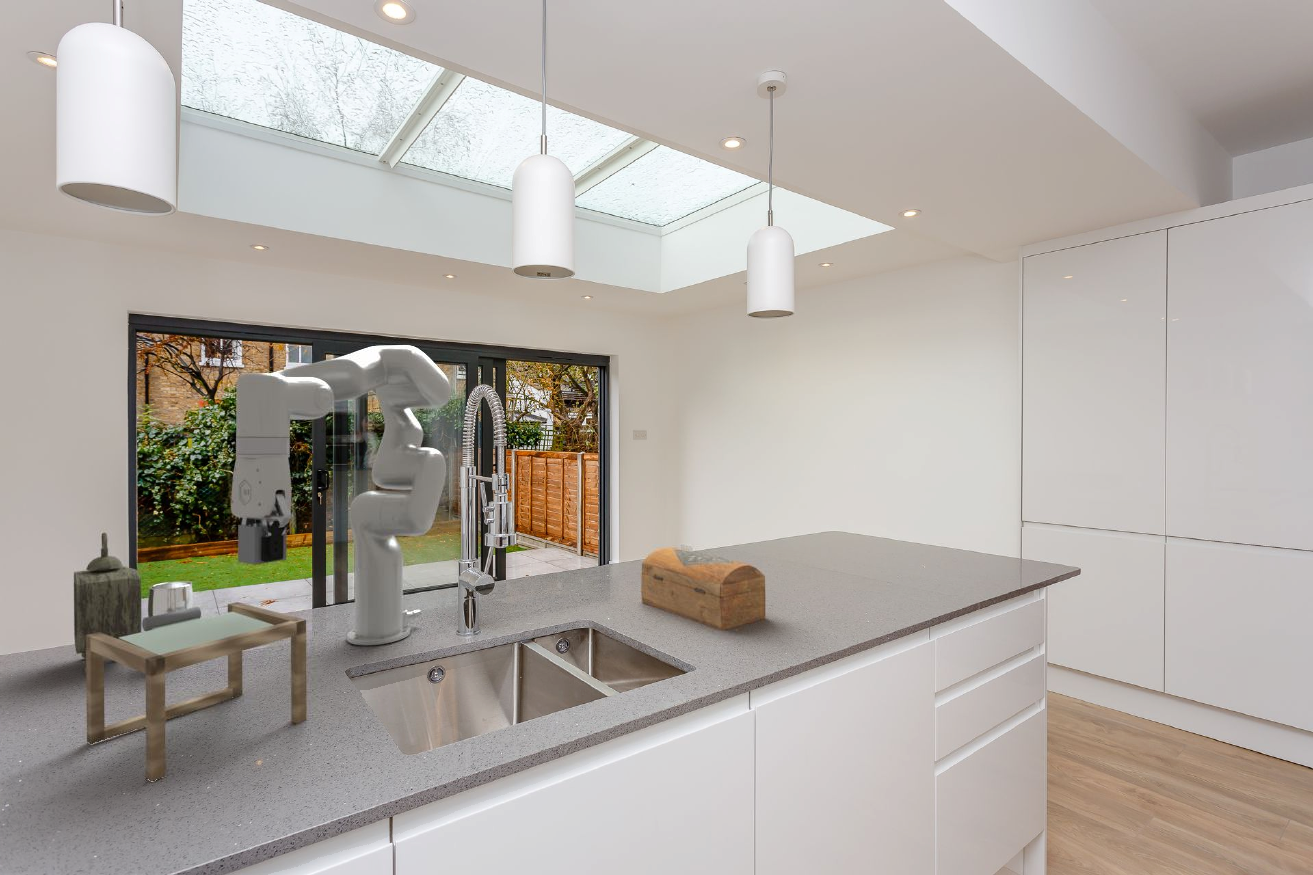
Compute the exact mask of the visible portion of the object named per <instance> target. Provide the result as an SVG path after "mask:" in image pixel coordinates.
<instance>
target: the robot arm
mask: <svg viewBox="0 0 1313 875" xmlns="http://www.w3.org/2000/svg"><path fill="white" fill-rule="evenodd" d="M451 389H452V388H451V384H450V381H449V378H448V377H447V375H445V373H444V372H443V371H442V370H441V369H440V368H439V367H438V366H437V364H436V363H435V362H434V361H433V360H432V359H431V358H430V357H429V356H428V355H427V354H426V353H424V352H423V351H422V350H420V349H419V348H418V347H415V346H412V345H405V344H403V345H375V346H369V347H366V348H363V349H360V350H357V351H354V352H351V353H347V354H345V355H342V356H339V357H336V358H332V359H327V360H321V361H317V362H313V363H308V364H304V365H303V364H302V365H298V366H295V367H294V366H293V367H288V368H285V369H281V370H277V371H274V372H271V373H268V372H267V373H266V372H250V373H249V372H248V373H243V374H240V375H239V376H238V377H237V380H236V406H235V407H236V409H235V410H236V419H235V420H236V421H235V422H236V427H235V428H236V430H235V431H236V432H235V434H236V438H235V441H236V442H235V450H236V451H235V457H236V458H235V463H234V468H233V475H232V485H231V498H230V499H231V502H230V503H231V504H230V506H231V507H230V511H231V513H232V515H233V516H235V517H238V520H239V523H240V525H243V524H253V523H263V530H264V536H265V537H261V560H262V561H263V562H268V561H275V560H281V559H283V535H285V528H286V526H288V524H289V522H290V521H291V520H292V519H293V518H292V517H293V515H292V512H291V509H292V480H291V470H290V463H289V458H290V457H291V456H290V453H291V448H290V447H291V445H290V444H291V443H290V442H291V440H290V437H291V420H293V421H296V420H298V421H299V420H301V421H302V420H303V421H305V420H307V421H309V420H317V419H320V418H323V417H326V415H328V414H329V413H330V412H331V411H332V409H333V407H334V404H335V402H337V403H338V402H343V401H349V400H350V401H351V400H355V399H356V398H359V397H361V396H363V395H366V394H368V393H370V392H372V391H375V396H376V400H377V402H378V405H379V407H380V410H381V413H382V416H383V421H384V430H383V431H384V432H383V434H382V438H381V441H380V444H379V446H378V449H377V453H376V455H375V458H374V461H373V464H372V468H371V481H372V482H373V483H374V485H376V486H378V487H380V488H382V489H386V490H370V491H365V492H361V493H360V494H358V495H357V496H356V497H355V498H354V499H353V500H352V502H350V503H351V504H350V505H349V506H350V507H349V510H348V511H349V512H348V514H349V515H348V517H349V523H350V528H351V532H352V537H353V546H354V547H353V548H354V621H355V622H354V629H352V630H350V631H349V632H347V635H346V641H347V642H348V643H349V644H352V645H355V646H377V645H378V646H379V645H385V644H390V643H394V642H398V641H400V640H403V639H405V638H407V637H408V636H409V635H410V633H411V627H410V626H409V625H408V623H409V622H410V621H412V620H416V619H419V618H421V616H422V611H421V610H420V609H419V608H418V609H415V610H411V611H408V610H407V609H406V610H404V608H403V607H404V598H403V597H404V591H403V590H404V586H403V585H404V583H403V582H404V576H403V573H404V572H403V571H404V570H403V569H404V556H403V551H402V547H401V545H400V543H399V542H398V540H397V539H396V536H399V537H400V536H404V537H405V536H407V537H409V536H410V537H417V536H423V535H425V534H426V533H427V532H429V531H430V530H431V528H432V526H433V523H434V521H435V518H436V514H437V512H438V507H439V504H440V500H441V496H442V494H443V489H444V486H445V481H446V478H447V463H446V459H445V457H444V455H443V453H442V452H441V451H440V450H438V449H436V448H433V447H424V446H423V447H421V446H422V444H423V443H422V442H423V440H424V430H423V428H422V425H421V424H420V422H419V420H418V419H417V418H416V416H415V414H414V413H413V411H412V409H413V410H415V409H417V410H418V409H419V410H420V409H429V410H430V409H431V410H432V409H440V408H443V407H444V406H447V404H448V402H449V401H450V398H451V395H452V390H451ZM399 490H400V491H399ZM401 490H402V491H401ZM406 490H407V491H406ZM409 490H410V491H409ZM270 522H273V523H272V525H271V527H270Z"/></svg>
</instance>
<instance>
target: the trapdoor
mask: <svg viewBox="0 0 1313 875" xmlns="http://www.w3.org/2000/svg"><path fill="white" fill-rule="evenodd" d="M269 626H273V625H272V624H269V623H266V622H263V621H260V620H257V619H254V618H251V617H247V616H244V615H241V614H238V613H235V612H228V611H227V612H225V613H220V614H216V615H211V616H207V617H204V618H202V611H201V608H200V607H199V606H194V608H189V609H184V610H180V611H175V612H170V613H166V614H161V615H156V616H151V617H148V616H147V617H144V618H143V619H142V620H141V628H142V629H143V631H141V633H137V634H132V635H128V636H123V637H119V640H121V641H124V642H127V643H129V644H132V645H134V646H137V647H140V648H142V649H145V650H148V651H150V652H153V653H155V654H158V655H161V654H165V653H169V652H173V651H177V650H181V649H185V648H188V647H192V646H196V645H200V644H204V643H208V642H212V641H215V640H219V639H223V638H227V637H231V636H235V635H238V634H242V633H246V632H250V631H254V630H258V629H262V628H265V627H269Z"/></svg>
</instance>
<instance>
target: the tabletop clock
mask: <svg viewBox="0 0 1313 875" xmlns="http://www.w3.org/2000/svg"><path fill="white" fill-rule="evenodd" d="M141 580H142V579H141V576H140V573H139V572H138V570H137V569H135V568H131V567H129V566H128V567H127V566H125V565H123V563H122V561H121V560H120V559H119V558H118V557H116V556H113V555H112V556H111V555H109V548H108V534H107V533H106V532H102V533H101V548H100V556H98V557H96V558H94V559H92V560H91V561H90V562H89V563H88V565H87V566H86V570H79V571H74V572H73V631H74V632H73V634H74V647H75V653H76V655H79V654H81V657H82V659H86V635H88V634H93V633H98V632H100V633H103V634H106V635H108V636H111V637H113V638H116V639H119V637H123V636H128V635H132V634H137V633H141V632H142V581H141ZM83 671H84V672H85V673H86V666H85V667H84V670H83Z"/></svg>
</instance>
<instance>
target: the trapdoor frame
mask: <svg viewBox="0 0 1313 875" xmlns="http://www.w3.org/2000/svg"><path fill="white" fill-rule="evenodd" d="M228 612H235V613H238V614H241V615H244V616H247V617H251V618H254V619H257V620H260V621H263V622H266V623H269V624H272V625H273V626H269V627H265V628H262V629H258V630H254V631H250V632H246V633H242V634H238V635H235V636H231V637H227V638H223V639H219V640H215V641H212V642H208V643H204V644H200V645H196V646H192V647H188V648H185V649H181V650H177V651H173V652H169V653H165V654H161V655H158V654H155V653H153V652H150V651H148V650H145V649H142V648H140V647H137V646H134V645H132V644H129V643H127V642H124V641H121V640H119V639H116V638H113V637H111V636H108V635H106V634H103V633H100V632H98V633H93V634H88V635H86V658H85V660H86V661H85V667H86V672H85V673H86V674H85V677H86V678H85V679H86V681H85V682H86V686H85V687H86V690H85V691H86V693H85V694H86V743H87V742H89V743H90V744H93V743H95V742H99V741H101V740H105V739H107V738H111V737H113V736H117V735H120V734H124V733H127V732H131V731H133V730H135V729H139V730H141V729H140V728H142V727H145V726H146V727H145V751H146V753H145V756H146V757H145V758H146V760H145V764H146V766H145V767H146V770H145V771H146V774H145V775H146V776H145V777H146V778H147V779H149V780H150V781H154V782H156V781H155V780H156V779H159V780H161V779H160V778H162V777H164V778H166V777H165V776H166V774H167V773H166V772H167V771H166V769H167V768H166V766H167V765H166V762H167V761H166V751H167V750H166V721H168V720H167V719H169V720H172V719H175V718H177V717H176V716H178V717H180V715H181V716H183V715H182V714H184V715H186V714H190V713H193V712H195V710H196V711H199V710H201V708H202V709H204V708H206V707H210V706H213V705H216V704H220V703H221V702H220V701H222V702H225V701H227V700H226V699H228V700H230V699H229V698H231V699H233V698H232V697H234V698H236V696H237V697H239V696H238V695H240V696H242V695H243V652H244V651H246V650H250V649H253V648H254V649H255V648H257V647H261V646H264V645H268V644H272V643H275V642H278V641H282V640H284V639H285V640H286V639H289V638H290V676H291V677H290V680H291V681H290V689H291V690H290V693H291V694H290V697H291V698H290V709H291V710H290V712H291V713H290V714H291V716H290V718H291V719H290V720H291V722H292V723H294V724H297V725H298V724H300V723H302V722H305V721H307V720H308V716H307V711H308V709H307V704H308V703H307V702H308V701H307V697H308V696H307V692H308V690H307V619H304V618H301V617H297V616H292V615H288V614H286V613H282V612H277V611H273V610H270V609H265V608H261V607H258V606H253V605H250V604H246V603H242V602H239V601H236V602H231V603H227V613H228ZM225 656H227V687H224V688H221V689H218V690H215V691H212V692H209V693H206V694H203V695H199V696H196V697H193V698H190V699H187V700H184V701H180V702H177V703H175V704H171V705H169V706H166V673H168V672H172V671H176V670H179V669H182V668H186V667H190V666H193V665H197V664H201V663H203V662H207V661H211V660H215V659H218V658H221V657H225ZM105 658H107V659H109V660H112V661H113V662H115V663H117V664H120V665H123V666H125V667H128V668H130V669H133V670H134V671H137V672H139V673H142V674H144V675H145V713H143V714H141V715H138V716H135V717H132V718H128V719H125V720H122V721H118V722H116V723H112V724H109V725H106V726H105ZM224 700H225V701H224ZM189 712H190V713H189ZM174 717H175V718H174ZM171 718H172V719H171ZM165 720H166V721H165ZM142 729H143V728H142ZM131 733H132V732H131ZM147 779H146V780H147ZM162 779H163V778H162ZM149 780H148V781H149ZM150 781H149V782H150Z"/></svg>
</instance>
